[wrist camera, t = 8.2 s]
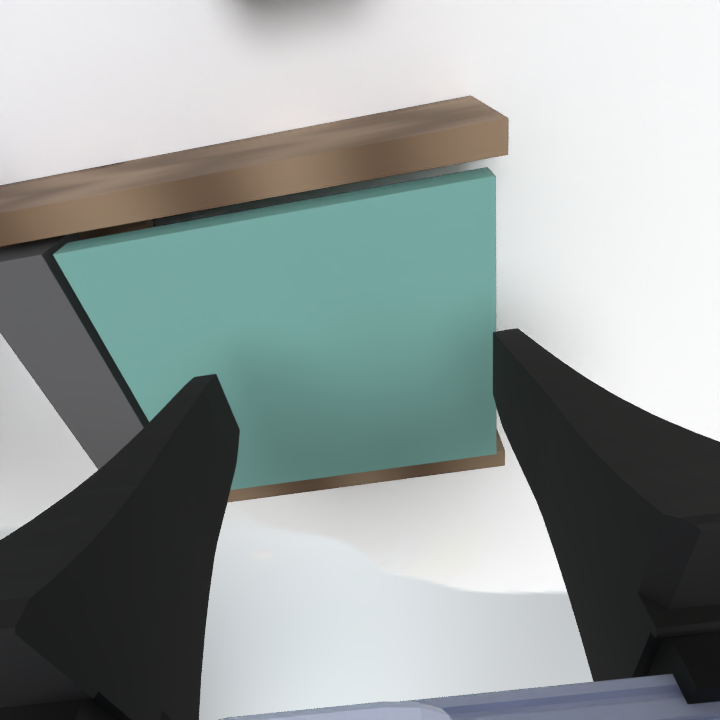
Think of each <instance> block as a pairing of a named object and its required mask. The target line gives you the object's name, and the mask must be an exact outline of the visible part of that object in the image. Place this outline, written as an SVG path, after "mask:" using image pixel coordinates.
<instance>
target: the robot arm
mask: <svg viewBox="0 0 720 720" xmlns="http://www.w3.org/2000/svg"><path fill="white" fill-rule="evenodd" d="M493 397H494V400H495V404H496V407H497V410H498V414H499V417H500V420H501V423H502V426H503V429H504V431H505V433H506V436H507V438H508V440H509V442H510V444H511V447H512V449H513V451H514V453H515V455H516V458H517V460H518V462H519V464H520V466H521V468H522V471H523V473H524V475H525V477H526V479H527V481H528V484H529V486H530V488H531V490H532V492H533V494H534V497H535V499H536V501H537V504H538V506H539V509H540V511H541V513H542V516H543V519H544V522H545V525H546V528H547V531H548V534H549V537H550V540H551V543H552V545H553V548H554V551H555V555H556V558H557V561H558V564H559V567H560V570H561V573H562V576H563V580H564V583H565V586H566V589H567V592H568V595H569V598H570V602H571V605H572V609H573V612H574V615H575V619H576V622H577V625H578V629H579V632H580V635H581V638H582V642H583V646H584V649H585V653H586V656H587V660H588V664H589V667H590V671H591V674H592V678H593V681H594V682H587V683H577V684H569V685H568V684H567V685H558V686H548V687H538V688H528V689H519V690H509V691H499V692H489V693H480V694H469V695H460V696H449V697H441V698H431V699H420V700H411V701H400V702H376V703H365V704H355V705H346V706H336V707H326V708H317V709H306V710H296V711H287V712H277V713H268V714H257V715H247V716H238V717H228V718H224V719H219V720H720V442H719V441H716V440H713V439H711V438H708V437H705V436H703V435H700V434H697V433H695V432H692V431H690V430H688V429H685V428H683V427H681V426H678V425H676V424H673V423H671V422H669V421H666V420H664V419H662V418H660V417H657V416H655V415H653V414H651V413H649V412H647V411H645V410H643V409H641V408H639V407H637V406H635V405H633V404H631V403H629V402H627V401H625V400H623V399H621V398H619V397H618V396H616V395H614V394H612V393H610V392H609V391H607V390H605V389H604V388H602V387H600V386H599V385H597V384H595V383H594V382H592V381H591V380H589V379H587V378H586V377H584V376H583V375H581V374H580V373H578V372H577V371H575V370H574V369H572V368H571V367H569V366H568V365H566V364H565V363H563V362H562V361H561V360H559V359H558V358H556V357H555V356H554V355H552V354H551V353H550V352H548V351H547V350H546V349H544V348H543V347H541V346H540V345H539V344H538V343H536V342H535V341H534V340H532V339H531V338H530V337H528V336H527V335H526V334H524V333H523V332H522V331H520V330H519V329H518V328H517V329H510V330H504V331H497V332H493ZM239 435H240V429H239V427H238V424H237V422H236V420H235V417H234V415H233V412H232V410H231V408H230V405H229V403H228V401H227V398H226V396H225V393H224V391H223V389H222V386H221V384H220V382H219V379H218V377H217V374H211V375H204V376H197V377H193V378H192V379H191V380H190V381H189V382H188V383H187V384H186V385H185V386H184V387H183V388H182V389H181V390H180V391H179V392H178V393H177V394H176V395H175V396H174V397H173V398H172V399H171V400H170V401H169V402H168V403H167V404H166V405H165V407H164V408H163V409H162V410H161V411H160V412H159V413H158V414H157V415H156V416H155V417H154V418H153V419H152V420H151V421H150V422H149V423H148V424H147V425H146V426H145V427H144V428H143V429H142V430H141V431H140V432H139V433H138V434H137V435H136V436H135V437H134V438H133V439H132V440H131V441H130V442H129V443H128V444H127V445H125V446H124V447H123V448H122V449H121V450H120V451H119V452H118V453H117V454H116V455H115V456H114V457H113V458H112V459H111V460H109V461H108V462H107V463H106V464H105V465H104V466H103V467H101V468H100V469H99V470H98V471H97V472H96V473H94V474H93V475H92V476H91V477H89V478H88V479H87V480H86V481H84V482H83V483H82V484H81V485H79V486H78V487H77V488H76V489H74V490H73V491H72V492H70V493H69V494H68V495H66V496H65V497H64V498H62V499H61V500H59V501H58V502H57V503H55V504H54V505H52V506H51V507H50V508H48V509H47V510H45V511H44V512H42V513H41V514H40V515H38V516H37V517H35V518H34V519H33V520H31V521H30V522H28V523H27V524H25V525H24V526H22V527H20V528H19V529H17V530H16V531H14V532H13V533H11V534H10V535H8V536H6V537H5V538H3V539H1V540H0V720H199V705H200V687H201V672H202V660H203V649H204V637H205V636H204V635H205V627H206V617H207V608H208V600H209V591H210V585H211V577H212V570H213V563H214V556H215V551H216V546H217V541H218V537H219V533H220V529H221V525H222V521H223V517H224V513H225V509H226V505H227V501H228V497H229V493H230V489H231V485H232V481H233V477H234V473H235V469H236V464H237V456H238V447H239Z"/></svg>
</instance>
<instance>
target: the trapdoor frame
mask: <svg viewBox="0 0 720 720" xmlns="http://www.w3.org/2000/svg"><path fill="white" fill-rule="evenodd" d="M503 155H508V118H507V117H506V116H504V115H502V114H501V113H499V112H497V111H496V110H494V109H492V108H491V107H489V106H487V105H486V104H484V103H482V102H481V101H479V100H477V99H476V98H474V97H472V96H466V97H461V98H456V99H451V100H445V101H440V102H435V103H430V104H424V105H419V106H414V107H409V108H403V109H398V110H393V111H388V112H383V113H377V114H372V115H367V116H362V117H356V118H351V119H346V120H341V121H335V122H330V123H325V124H320V125H315V126H309V127H304V128H299V129H294V130H288V131H283V132H278V133H273V134H267V135H262V136H257V137H252V138H247V139H241V140H236V141H231V142H226V143H220V144H215V145H210V146H205V147H199V148H194V149H189V150H184V151H179V152H173V153H168V154H163V155H158V156H152V157H147V158H142V159H137V160H131V161H126V162H121V163H116V164H111V165H105V166H100V167H95V168H90V169H84V170H79V171H74V172H69V173H63V174H58V175H53V176H48V177H43V178H37V179H32V180H27V181H22V182H16V183H11V184H6V185H1V186H0V247H1V246H6V245H12V244H17V243H23V242H28V241H34V240H39V239H45V238H50V237H56V236H61V235H67V234H72V233H78V234H79V236H80V238H81V240H85V239H91V238H96V237H102V236H107V235H113V234H119V233H124V232H130V231H135V230H141V229H146V228H152V227H155V226H154V224H153V221H152V219H155V218H161V217H166V216H172V215H177V214H183V213H188V212H194V211H200V210H205V209H211V208H216V207H222V206H227V205H233V204H238V203H244V202H249V201H255V200H260V199H266V198H271V197H277V196H282V195H288V194H293V193H299V192H304V191H310V190H316V189H321V188H327V187H332V186H338V185H343V184H349V183H354V182H360V181H365V180H371V179H376V178H382V177H387V176H393V175H398V174H404V173H409V172H415V171H420V170H426V169H432V168H437V167H443V166H448V165H454V164H459V163H465V162H470V161H476V160H481V159H487V158H492V157H498V156H503ZM496 449H497V454H494V455H486V456H479V457H471V458H464V459H457V460H449V461H442V462H435V463H427V464H420V465H412V466H405V467H398V468H390V469H383V470H375V471H368V472H361V473H353V474H346V475H338V476H331V477H324V478H316V479H309V480H301V481H294V482H287V483H279V484H272V485H265V486H257V487H250V488H242V489H235V490H230V493H229V497H228V501H227V502H234V501H242V500H249V499H257V498H264V497H272V496H279V495H287V494H294V493H302V492H309V491H317V490H324V489H332V488H339V487H347V486H354V485H362V484H369V483H377V482H384V481H392V480H399V479H407V478H414V477H422V476H429V475H437V474H444V473H452V472H459V471H467V470H474V469H482V468H489V467H497V466H504V465H505V450H504V447H503V444H502V442H501V439H500V436H499V434H498V431H497V428H496Z"/></svg>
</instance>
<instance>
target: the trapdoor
mask: <svg viewBox="0 0 720 720" xmlns="http://www.w3.org/2000/svg"><path fill="white" fill-rule="evenodd" d="M493 332H496V176H495V175H494V174H493V173H492V171H491V170H490V169H489V168H488V167H486V168H480V169H475V170H469V171H464V172H458V173H453V174H447V175H441V176H436V177H430V178H425V179H419V180H414V181H408V182H402V183H397V184H391V185H386V186H380V187H375V188H369V189H363V190H358V191H352V192H347V193H341V194H336V195H330V196H325V197H319V198H313V199H308V200H302V201H297V202H291V203H286V204H280V205H274V206H269V207H263V208H258V209H252V210H247V211H241V212H235V213H230V214H224V215H219V216H213V217H208V218H202V219H197V220H191V221H185V222H180V223H174V224H169V225H163V226H158V227H152V228H146V229H141V230H135V231H130V232H124V233H119V234H113V235H107V236H102V237H96V238H91V239H85V240H81V238H80V236H79V234H78V233H72V234H67V235H61V236H56V237H50V238H45V239H39V240H34V241H28V242H23V243H17V244H12V245H6V246H1V247H0V333H1V334H2V336H3V337H4V338H5V340H6V341H7V343H8V344H9V345H10V347H11V348H12V350H13V351H14V352H15V354H16V355H17V357H18V358H19V359H20V361H21V362H22V364H23V365H24V366H25V368H26V369H27V371H28V372H29V373H30V375H31V376H32V378H33V379H34V380H35V382H36V383H37V385H38V386H39V387H40V389H41V390H42V392H43V393H44V394H45V396H46V397H47V398H48V400H49V401H50V403H51V404H52V405H53V407H54V408H55V410H56V411H57V412H58V414H59V415H60V417H61V418H62V419H63V421H64V422H65V424H66V425H67V426H68V428H69V429H70V431H71V432H72V433H73V435H74V436H75V438H76V439H77V440H78V442H79V443H80V445H81V446H82V447H83V449H84V450H85V452H86V453H87V454H88V456H89V457H90V459H91V460H92V461H93V463H94V464H95V466H96V467H97V468H98V470H99V469H100V468H101V467H103V466H104V465H105V464H106V463H107V462H108V461H109V460H111V459H112V458H113V457H114V456H115V455H116V454H117V453H118V452H119V451H120V450H121V449H122V448H123V447H124V446H125V445H127V444H128V443H129V442H130V441H131V440H132V439H133V438H134V437H135V436H136V435H137V434H138V433H139V432H140V431H141V430H142V429H143V428H144V427H145V426H146V425H147V424H148V423H149V422H150V421H151V420H152V419H153V418H154V417H155V416H156V415H157V414H158V413H159V412H160V411H161V410H162V409H163V408H164V407H165V405H166V404H167V403H168V402H169V401H170V400H171V399H172V398H173V397H174V396H175V395H176V394H177V393H178V392H179V391H180V390H181V389H182V388H183V387H184V386H185V385H186V384H187V383H188V382H189V381H190V380H191V379H192V378H193V377H197V376H204V375H211V374H217V377H218V379H219V382H220V384H221V386H222V389H223V391H224V393H225V396H226V398H227V401H228V403H229V405H230V408H231V410H232V412H233V415H234V417H235V420H236V422H237V424H238V427H239V429H240V435H239V447H238V456H237V464H236V469H235V473H234V477H233V481H232V485H231V489H230V490H235V489H242V488H250V487H257V486H265V485H272V484H279V483H287V482H294V481H301V480H309V479H316V478H324V477H331V476H338V475H346V474H353V473H361V472H368V471H375V470H383V469H390V468H398V467H405V466H412V465H420V464H427V463H435V462H442V461H449V460H457V459H464V458H471V457H479V456H486V455H494V454H497V449H496V404H495V400H494V397H493Z"/></svg>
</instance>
